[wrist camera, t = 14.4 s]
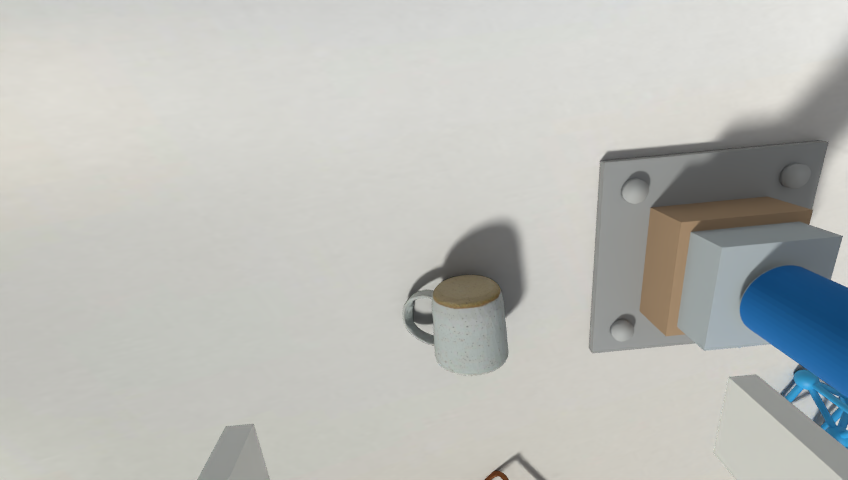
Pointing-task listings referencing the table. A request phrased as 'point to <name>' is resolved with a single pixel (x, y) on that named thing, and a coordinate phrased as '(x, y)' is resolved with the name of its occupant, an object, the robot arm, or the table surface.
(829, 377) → the beverage can
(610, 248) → the tower base
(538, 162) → the table surface
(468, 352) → the ceramic mug
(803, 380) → the molecular structure
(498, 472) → the glasses
